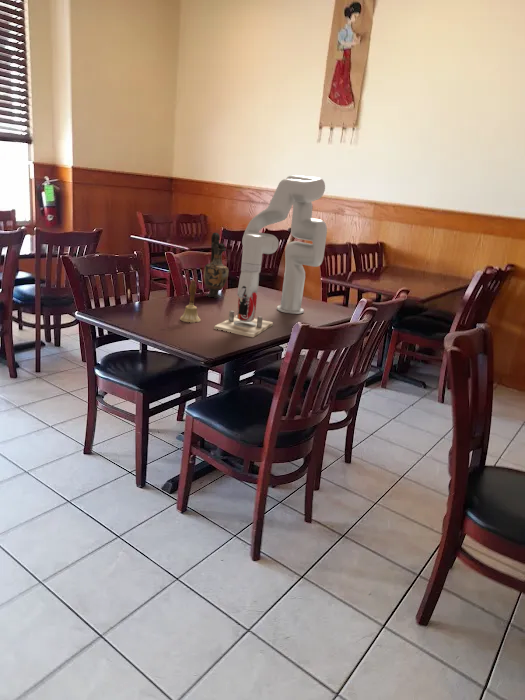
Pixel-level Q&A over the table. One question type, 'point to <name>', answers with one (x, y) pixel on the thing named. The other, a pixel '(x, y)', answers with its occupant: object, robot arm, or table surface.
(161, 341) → the table surface
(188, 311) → the hand bell
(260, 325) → the tray with two posts
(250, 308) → the soda can
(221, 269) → the vase
